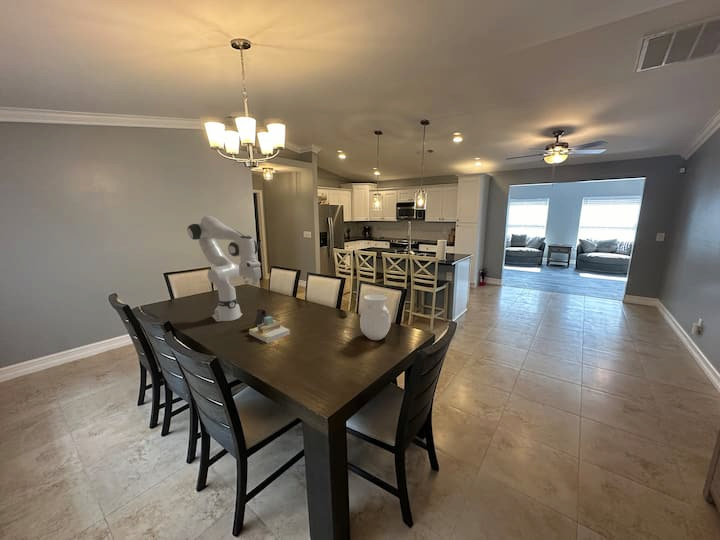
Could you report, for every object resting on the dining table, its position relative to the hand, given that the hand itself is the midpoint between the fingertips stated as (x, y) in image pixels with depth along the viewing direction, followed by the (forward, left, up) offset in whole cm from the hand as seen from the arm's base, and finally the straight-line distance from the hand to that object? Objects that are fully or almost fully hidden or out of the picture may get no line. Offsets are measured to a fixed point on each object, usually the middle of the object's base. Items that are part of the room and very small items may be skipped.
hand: (250, 284), depth 176 cm
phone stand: (-4, +8, -31) cm, 33 cm away
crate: (+11, +4, -24) cm, 27 cm away
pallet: (+11, +4, -28) cm, 30 cm away
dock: (+11, +4, -31) cm, 33 cm away
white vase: (+65, +42, -31) cm, 83 cm away
